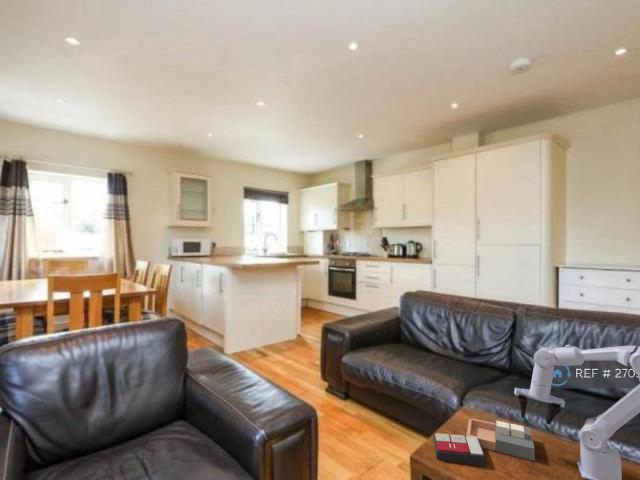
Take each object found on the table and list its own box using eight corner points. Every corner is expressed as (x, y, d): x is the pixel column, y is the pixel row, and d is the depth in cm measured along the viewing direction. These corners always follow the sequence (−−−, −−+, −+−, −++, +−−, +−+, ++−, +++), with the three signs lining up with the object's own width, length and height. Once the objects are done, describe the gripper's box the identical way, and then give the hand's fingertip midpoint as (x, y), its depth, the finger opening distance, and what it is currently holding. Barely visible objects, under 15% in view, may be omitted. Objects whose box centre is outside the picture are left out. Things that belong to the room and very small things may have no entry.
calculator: (433, 431, 121) (478, 435, 117) (434, 443, 121) (478, 447, 117) (436, 449, 110) (485, 453, 106) (437, 462, 110) (486, 467, 106)
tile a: (523, 433, 118) (523, 426, 118) (524, 439, 115) (524, 431, 115) (510, 430, 120) (510, 423, 120) (511, 436, 117) (510, 428, 117)
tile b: (508, 430, 120) (508, 423, 120) (509, 435, 117) (509, 428, 117) (496, 427, 122) (496, 420, 122) (496, 432, 119) (496, 425, 119)
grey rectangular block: (530, 439, 121) (530, 428, 122) (534, 461, 109) (534, 448, 109) (495, 431, 127) (495, 420, 127) (496, 451, 114) (495, 439, 114)
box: (495, 431, 127) (495, 423, 127) (495, 451, 114) (495, 442, 114) (469, 425, 131) (469, 417, 131) (466, 444, 119) (466, 435, 119)
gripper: (562, 382, 115) (555, 419, 116) (515, 372, 120) (509, 407, 121) (569, 392, 108) (562, 431, 110) (519, 381, 113) (513, 418, 114)
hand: (534, 419), depth 115 cm, fingers open, 7 cm apart
